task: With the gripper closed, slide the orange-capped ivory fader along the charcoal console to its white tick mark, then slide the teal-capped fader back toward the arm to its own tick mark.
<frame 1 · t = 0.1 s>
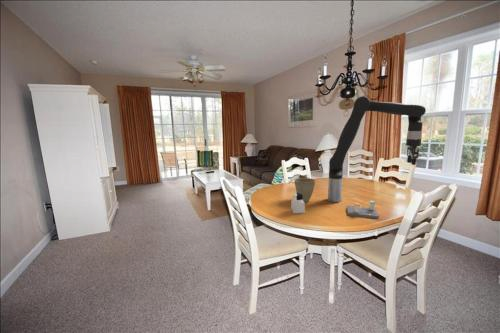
hand: (411, 163, 138), 29 cm above the table, fingers open, 8 cm apart
plant pot: (304, 200, 161), on the table
console: (361, 213, 135), on the table
fader b: (371, 205, 135), point 4 cm above the table, slide at 9.0 cm
fader a: (356, 207, 132), point 4 cm above the table, slide at 0.0 cm
medicine bottle: (297, 211, 140), on the table
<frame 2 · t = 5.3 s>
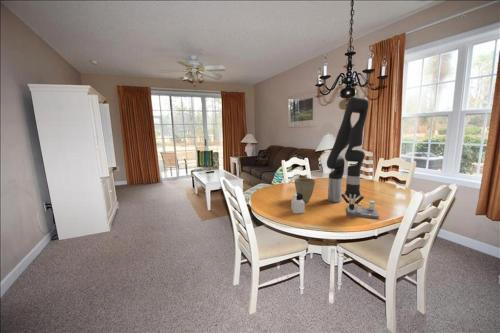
hand: (351, 209, 133), 3 cm above the table, fingers closed
fader a: (359, 207, 132), point 4 cm above the table, slide at 1.2 cm, touching gripper
everything else where it was.
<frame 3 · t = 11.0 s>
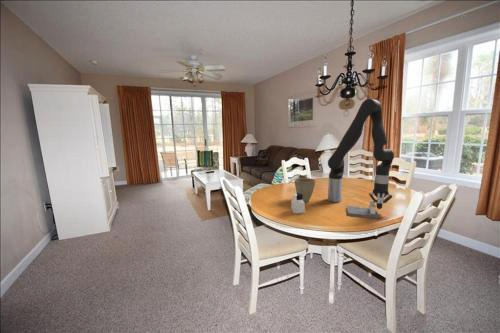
hand: (379, 208, 134), 3 cm above the table, fingers closed
fader b: (371, 205, 135), point 4 cm above the table, slide at 9.0 cm, touching gripper
fader a: (372, 209, 129), point 4 cm above the table, slide at 8.6 cm
everything else where it was.
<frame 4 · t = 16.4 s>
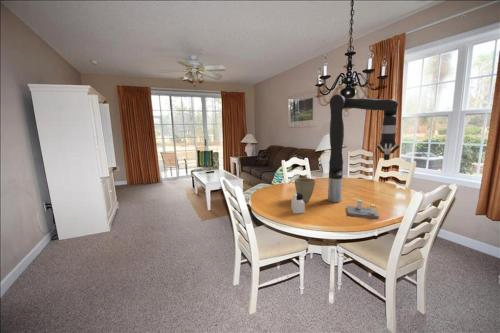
hand: (386, 159, 138), 32 cm above the table, fingers closed
fader b: (359, 204, 138), point 4 cm above the table, slide at 1.9 cm
everything else where it was.
at the end: fader a slide at 8.6 cm; fader b slide at 1.9 cm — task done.
